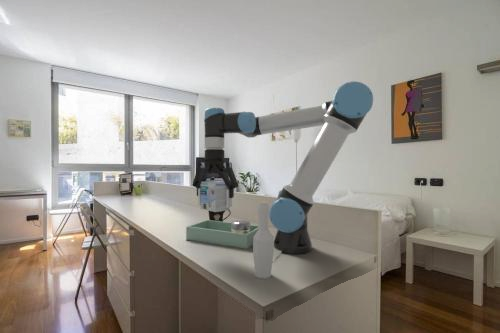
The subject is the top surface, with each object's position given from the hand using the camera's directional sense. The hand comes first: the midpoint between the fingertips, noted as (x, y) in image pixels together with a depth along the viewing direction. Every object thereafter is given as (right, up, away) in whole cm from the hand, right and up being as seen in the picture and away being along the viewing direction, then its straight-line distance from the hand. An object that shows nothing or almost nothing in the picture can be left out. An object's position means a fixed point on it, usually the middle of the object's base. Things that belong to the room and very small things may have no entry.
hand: (214, 205), depth 98 cm
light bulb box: (0, -2, 0) cm, 2 cm away
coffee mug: (-4, -18, +41) cm, 44 cm away
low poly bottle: (+17, -18, -21) cm, 33 cm away
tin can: (+9, -17, +12) cm, 23 cm away
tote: (+2, -17, +15) cm, 23 cm away
